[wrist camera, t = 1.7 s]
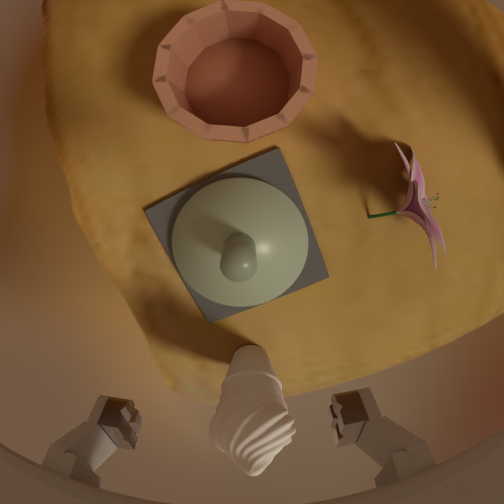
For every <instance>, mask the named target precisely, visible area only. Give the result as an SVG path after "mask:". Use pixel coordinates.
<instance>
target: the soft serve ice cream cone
mask: <svg viewBox="0 0 504 504" xmlns="http://www.w3.org/2000/svg"><path fill="white" fill-rule="evenodd" d="M294 420H295V419H294V418H293V417H291V416H289V415H288V409H287V405H286V403H285V402H284V398H283V394H282V385H281V382H280V380H279V379H278V378H277V376H276V374H275V371H274V369H273V366H272V364H271V361H270V359H269V356H268V354H267V352H266V351H265V350H264V349H263V348H261V347H259V346H256V345H246V346H243V347H240V348H239V349H237V350H236V352H235V353H234V355H233V358H232V361H231V364H230V367H229V369H228V372H227V375H226V378H225V379H224V381H223V382H222V385H221V396H220V401H219V404H218V405H217V408H216V414H215V415H214V417H213V418H212V420H211V423H210V426H209V435H210V438H211V441H212V442H213V443H214V445H215V446H216V447H217V448H218V449H220V450H221V451H223V452H225V453H227V455H228V456H229V457H230V459H231V460H232V461H233V462H234V463H235V464H236V465H237V466H238V467H239V468H240V469H241V470H242V471H243V472H245V473H246V474H248V475H250V476H256V475H259V474H260V473H261V472H262V471H264V470H265V468H266V466H267V465H269V464H270V463H271V462H272V460H273V458H274V456H275V455H276V454H277V453H278V452H280V451H281V450H282V447H283V446H285V445H287V444H289V443H290V442H291V441H292V439H291V436H292V435H293V434H294V433H295V432H296V430H295V428H294V427H292V426H291V425H292V424H293V422H294Z"/></svg>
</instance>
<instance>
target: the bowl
mask: <svg viewBox="0 0 504 504" xmlns="http://www.w3.org/2000/svg"><path fill="white" fill-rule="evenodd" d="M317 61H318V56H317V54H316V52H315V50H314V48H313V46H312V44H311V43H310V41H309V39H308V37H307V35H306V34H305V32H304V30H303V28H302V27H301V25H300V23H298V22H297V21H295V20H294V19H292V18H290V17H289V16H287V15H285V14H284V13H282V12H280V11H279V10H277V9H275V8H273V7H272V6H270V5H268V4H266V3H261V2H251V1H235V0H222V1H219V2H216V3H213V4H211V5H208V6H206V7H203V8H201V9H198V10H196V11H193V12H191V13H189V14H186V15H184V16H183V17H182V18H181V19H180V21H179V22H178V23H177V24H176V25H175V26H174V27H173V28H172V30H171V31H170V32H169V33H168V34H167V35H166V37H165V38H164V39H163V40H162V41H161V43H160V44H159V45H158V49H157V55H156V60H155V66H154V72H153V79H152V83H153V85H154V88H155V90H156V92H157V94H158V96H159V98H160V101H161V103H162V105H163V107H164V109H165V111H166V114H167V116H168V117H170V118H171V119H173V120H174V121H176V122H178V123H179V124H181V125H182V126H184V127H185V128H187V129H189V130H190V131H192V132H193V133H195V134H196V135H198V136H199V137H201V138H202V139H207V140H214V141H228V142H240V143H249V142H251V141H254V140H256V139H258V138H261V137H263V136H266V135H268V134H271V133H273V132H276V131H278V130H281V129H283V128H285V127H287V126H289V124H290V123H291V122H292V121H293V119H294V118H295V117H296V116H297V114H298V113H299V112H300V111H301V110H302V108H303V107H304V106H305V105H306V103H307V102H308V101H309V100H310V99H311V97H312V96H313V95H314V91H315V82H316V72H317Z"/></svg>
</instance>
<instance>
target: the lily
mask: <svg viewBox="0 0 504 504" xmlns="http://www.w3.org/2000/svg"><path fill="white" fill-rule="evenodd" d="M394 143H395V142H394ZM395 145H396V147H397V149H398V151H399V153H400V155H401V157H402V159H403V162H404V164H405V166H406V169H407V172H408V179H409V185H408V191H407V195H406V198H405V201H404V204H403V206H402V208H401V209H400V210H397V211H393V212H388V213H383V214H376V215H370V216H368V218H376V217H383V216H389V215H394V214H404V215H406V216H407V217H409V218H411V219H412V220H413V221H415V222H416V223H417V224H419V225H420V226H421V227H422V228H423V229H424V231H425V232H426V234H427V236H428V238H429V241H430V244H431V248H432V253H433V258H434V264H435V270H436V266H437V257H436V248H435V243H434V241H433V238H432V236H433V237H434V238H435V239H436V240H437V241H438V243H439V244H440V245H441V246H442V248H443V249H444V252H445V255H446V250H445V244H444V240H443V236H442V232H441V230H440V227H439V225H438V223H437V221H436V219H435V218H434V216H433V215H432V213H431V208H430V207H433V208H436V207H435V206H429V203H430V202H432V201H435V200H438V199H439V197H437V198H435V199H433V200H431V201H429V202H428V200H430V199H432V198H433V197H432V198H430V199H427V196H426V194H425V182H424V177H423V173H422V170H421V168H420V165H419V163H418V160H417V158H416V156H415V154H414V152H413V150H412V148H411V150H412V152H413V157H414V162H413V170H412V176H411V169H410V166H409V163H408V161H407V159H406V157H405V156H404V154H403V152H402V151H401V149H400V148H399V146H398V145H397V144H396V143H395ZM410 147H411V146H410ZM438 194H439V193H437V194H436V195H438ZM436 195H435V196H436ZM435 196H434V197H435ZM431 235H432V236H431ZM446 259H447V256H446Z"/></svg>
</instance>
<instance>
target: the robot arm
mask: <svg viewBox="0 0 504 504" xmlns="http://www.w3.org/2000/svg"><path fill="white" fill-rule="evenodd" d="M331 401H332V404H331V405H330V407H329V421H330V425H331V427H333V428H334V433H333V437H334V441H335V445H336V447H341V446H346V445H350V444H356V445H357V446H358V447H359V448H361V449H362V450H363V451H364V452H365V453H366V454H367V455H368V456H370V457H371V458H372V459H373V460H374V461H375V462H377V463H378V464H379V465H380V466H381V467H383V469H382V470H381V471H380V473H379V474H378V475H377V476H376V478H375V479H374V480H375V483H376V487H377V488H374V489H371V490H367V491H364V492H360V493H356V494H352V495H348V496H344V497H339V498H335V499H329V500H324V501H318V502H312V503H306V504H504V431H503V430H499V431H496V432H494V433H493V434H491V435H490V436H488V437H486V438H485V439H483V440H482V441H480V442H478V443H477V444H475V445H473V446H471V447H470V448H468V449H466V450H464V451H463V452H461V453H459V454H457V455H455V456H453V457H451V458H449V459H447V460H445V461H443V462H441V463H439V464H437V465H436V462H435V460H434V458H433V456H432V453H431V452H430V449H429V447H428V445H427V443H426V441H424V440H423V439H421V438H420V437H418V436H416V435H415V434H413V433H411V432H410V431H408V430H406V429H405V428H403V427H402V426H400V425H398V424H397V423H395V422H394V421H392V420H391V419H389V418H387V417H386V416H384V417H382V415H381V413H380V411H379V408H378V406H377V404H376V401H375V399H374V398H373V395H372V392H371V390H370V389H369V388H364V389H359V390H353V391H348V392H344V393H338V394H333V395H332V398H331ZM134 405H135V404H134V403H133V401H132V400H127V399H120V398H115V397H109V396H103V395H100V396H99V397H98V398H97V401H96V403H95V405H94V407H93V410H92V411H91V414H90V416H89V418H88V420H87V422H83V423H81V424H80V425H79V426H77V427H76V428H75V429H73V430H71V431H70V432H68V433H67V434H65V435H64V436H63V437H61V438H60V439H58V440H57V441H55V442H54V443H52V444H51V445H50V447H49V449H48V451H47V454H46V456H45V458H44V460H43V463H42V465H39V464H37V463H35V462H33V461H31V460H29V459H27V458H26V457H24V456H22V455H20V454H18V453H16V452H14V451H12V450H11V449H9V448H7V447H6V446H4V445H3V444H1V443H0V504H169V503H162V502H156V501H150V500H146V499H141V498H136V497H131V496H127V495H123V494H119V493H116V492H112V491H108V490H104V489H102V488H100V486H101V482H102V480H101V478H100V477H99V476H98V475H96V474H95V473H94V471H95V470H96V469H97V468H98V467H99V466H100V465H101V464H102V463H103V462H104V461H105V460H106V459H107V458H108V457H109V456H110V455H111V454H112V453H113V452H114V451H115V450H116V449H117V447H120V448H126V449H132V450H134V449H135V446H136V442H137V436H136V433H137V432H138V431H139V430H140V428H141V415H140V413H139V411H138V410H136V409H135V408H134Z"/></svg>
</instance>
